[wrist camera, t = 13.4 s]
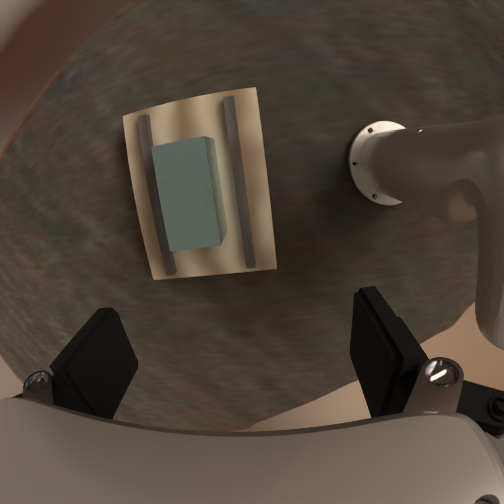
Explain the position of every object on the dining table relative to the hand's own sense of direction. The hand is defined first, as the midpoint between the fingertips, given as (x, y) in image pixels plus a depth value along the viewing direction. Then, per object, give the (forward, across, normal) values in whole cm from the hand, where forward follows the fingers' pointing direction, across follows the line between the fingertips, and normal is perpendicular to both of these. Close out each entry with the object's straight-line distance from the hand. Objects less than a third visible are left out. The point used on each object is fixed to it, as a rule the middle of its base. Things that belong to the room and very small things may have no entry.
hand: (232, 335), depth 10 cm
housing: (+26, +7, -3) cm, 27 cm away
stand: (+30, +7, -3) cm, 31 cm away
